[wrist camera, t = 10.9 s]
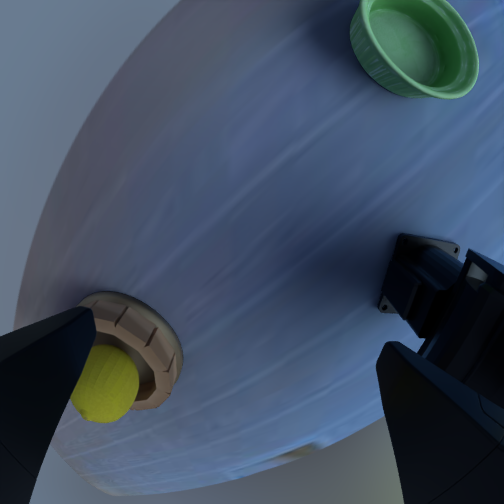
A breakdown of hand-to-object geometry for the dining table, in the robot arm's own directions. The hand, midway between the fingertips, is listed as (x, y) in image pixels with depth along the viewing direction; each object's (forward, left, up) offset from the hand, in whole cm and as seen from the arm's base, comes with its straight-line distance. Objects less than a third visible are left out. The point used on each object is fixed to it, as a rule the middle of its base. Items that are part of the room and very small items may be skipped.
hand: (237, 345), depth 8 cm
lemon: (+10, +12, -11) cm, 19 cm away
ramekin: (-9, -15, -12) cm, 21 cm away
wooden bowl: (+10, +12, -12) cm, 20 cm away
